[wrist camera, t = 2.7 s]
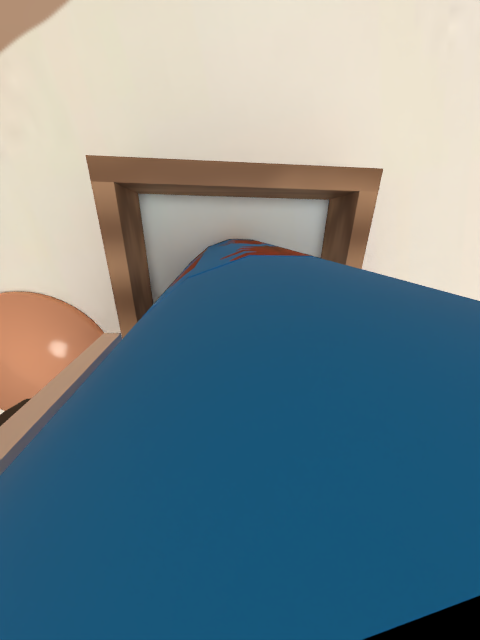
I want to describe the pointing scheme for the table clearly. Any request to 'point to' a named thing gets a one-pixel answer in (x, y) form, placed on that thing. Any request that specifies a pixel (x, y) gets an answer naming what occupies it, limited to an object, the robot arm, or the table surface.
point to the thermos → (259, 466)
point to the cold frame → (219, 180)
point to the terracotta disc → (38, 342)
